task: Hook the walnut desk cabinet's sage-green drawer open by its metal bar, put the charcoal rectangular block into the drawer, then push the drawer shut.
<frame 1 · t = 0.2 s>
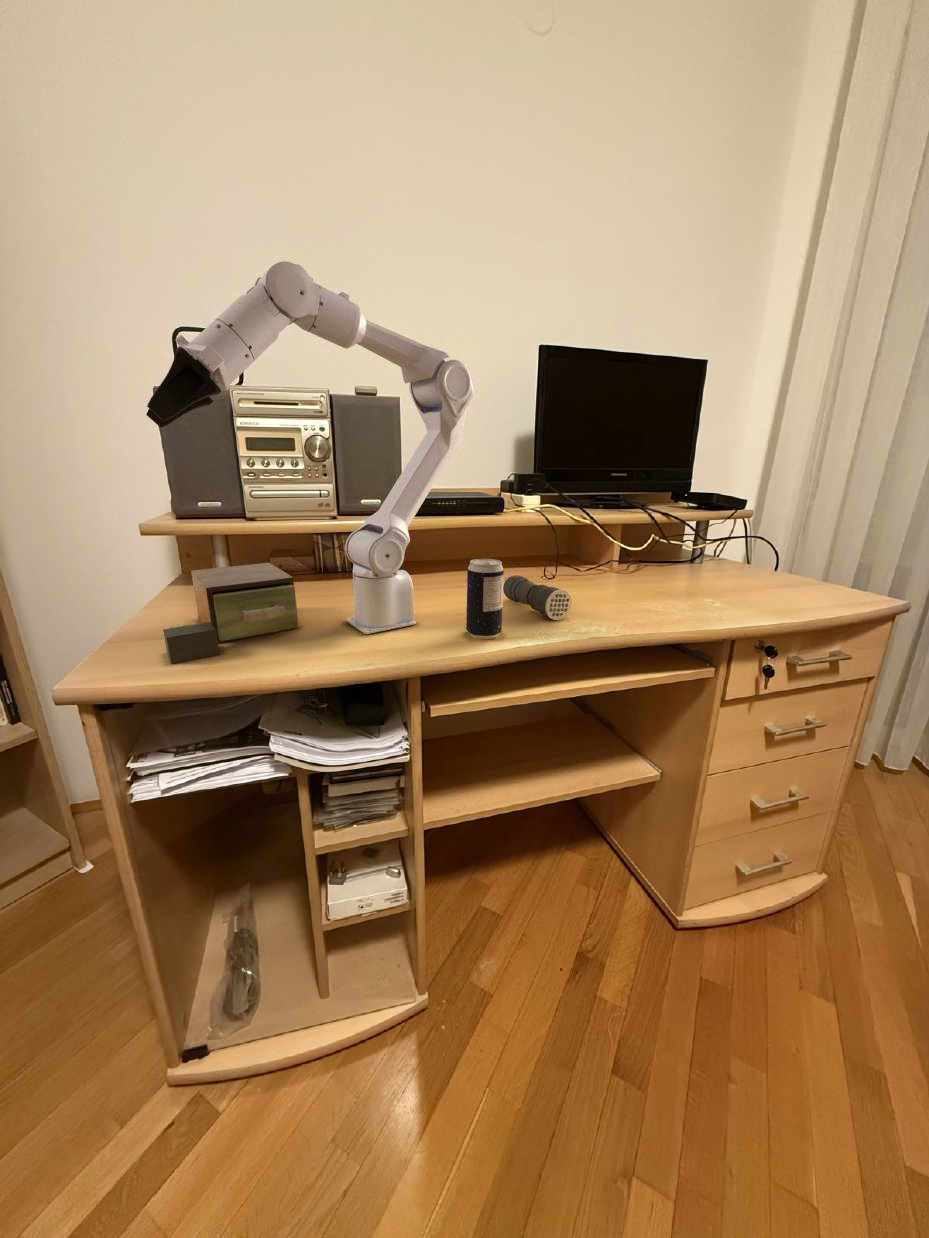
hand: (154, 417, 58), 31 cm above the table, tool tilted 45°, fingers open, 7 cm apart
beverage can: (483, 635, 79), on the table
flashlight: (534, 610, 93), on the table
charcoal rectangular block: (193, 654, 69), on the table
drawer: (252, 606, 77), point 4 cm above the table, slide at 1.0 cm
cabinet: (247, 623, 82), on the table
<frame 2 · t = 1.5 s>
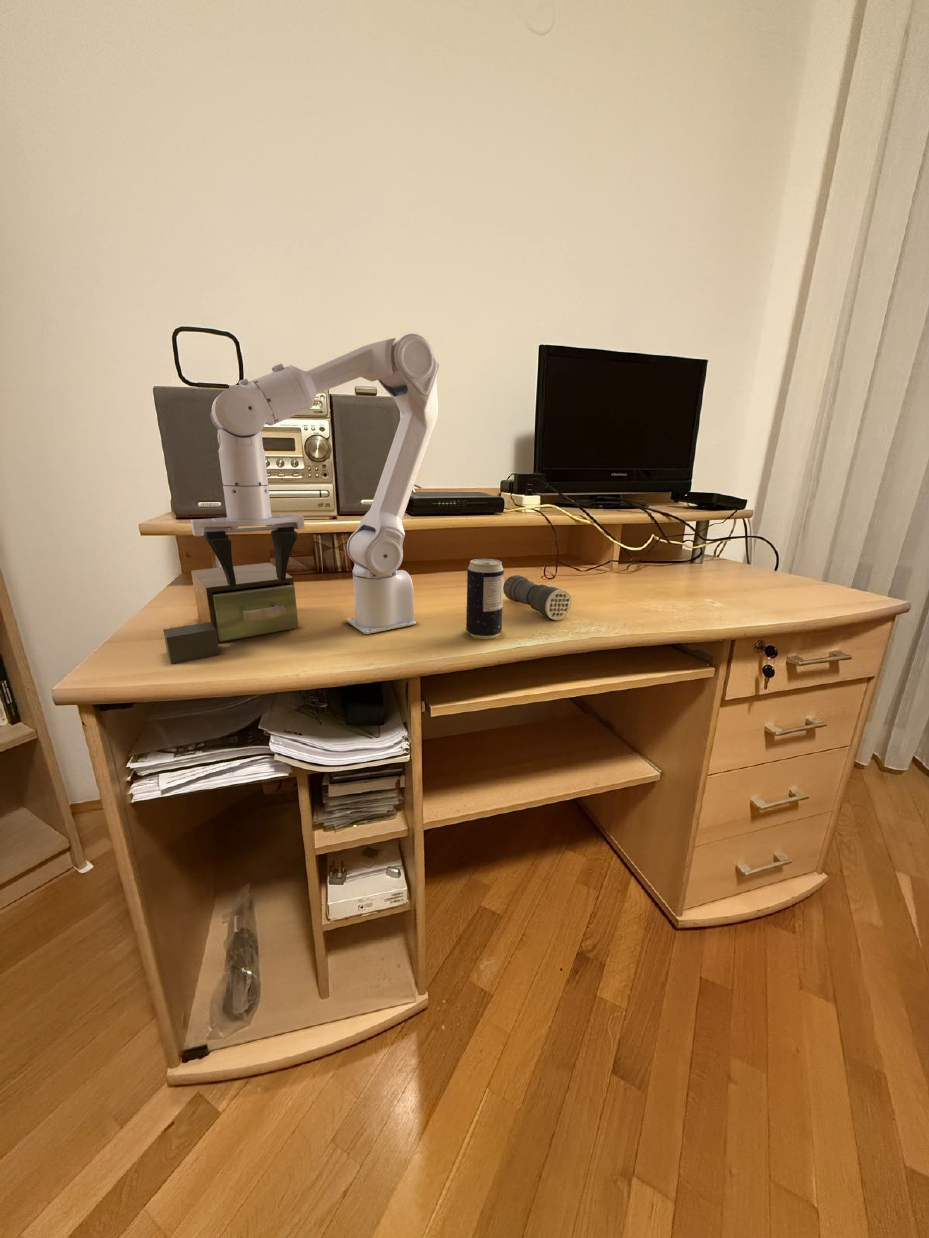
hand: (257, 582, 71), 9 cm above the table, tool pointing down, fingers open, 6 cm apart
nothing on the table moved.
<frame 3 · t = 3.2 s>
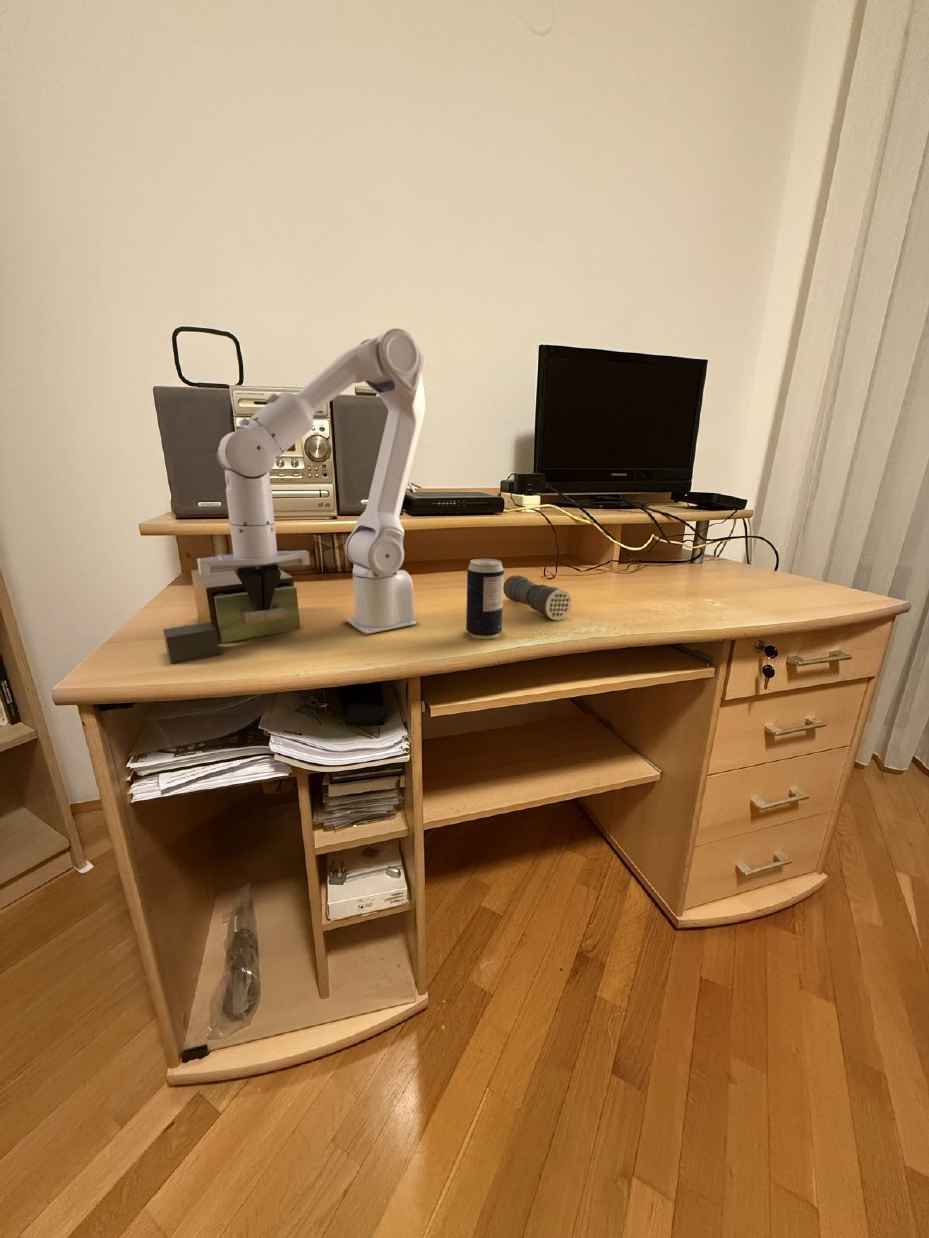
hand: (262, 617, 72), 4 cm above the table, tool pointing down, fingers closed, pressing on drawer
drawer: (253, 608, 76), point 4 cm above the table, slide at 1.9 cm, touching gripper
everything else where it was.
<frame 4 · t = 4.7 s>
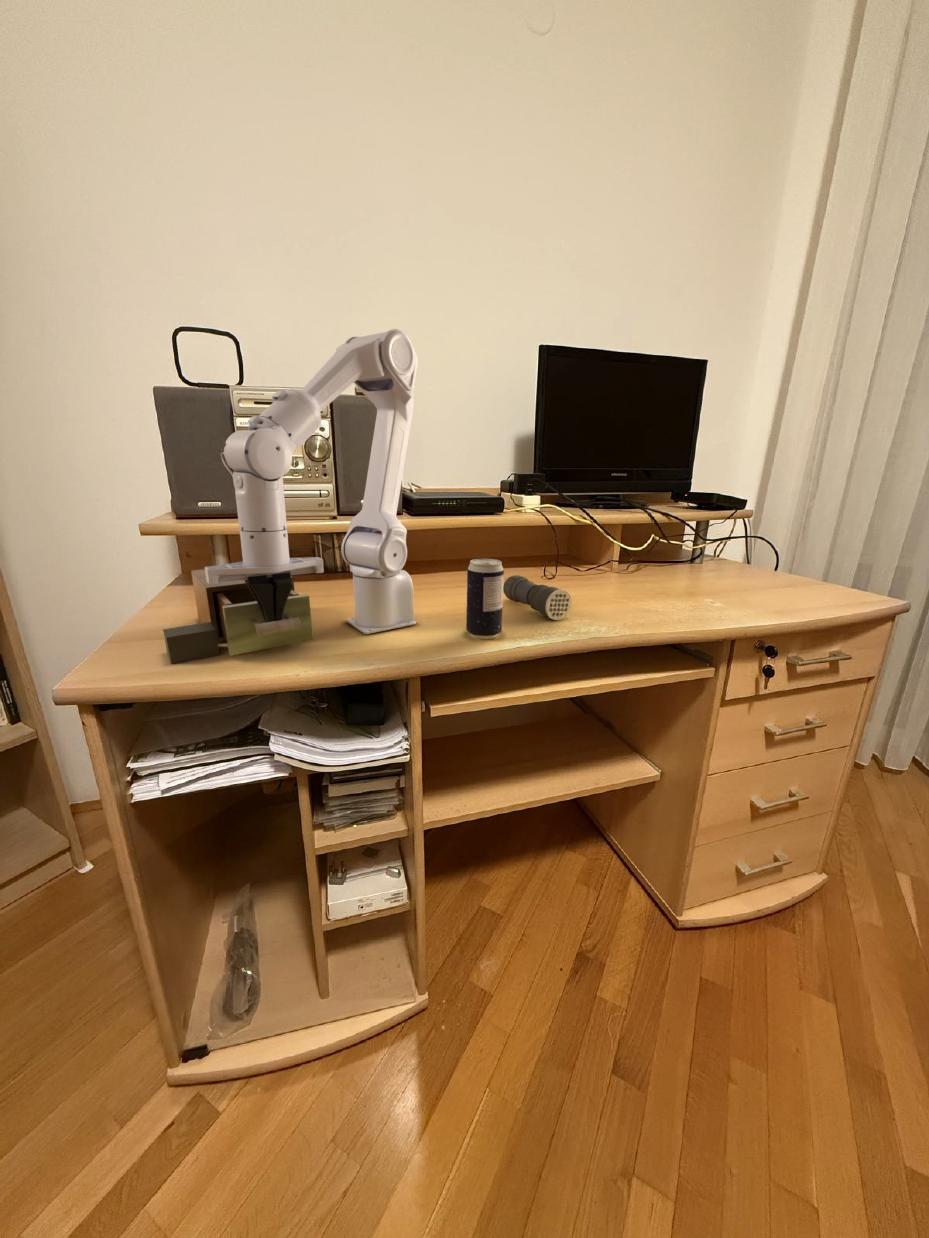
hand: (273, 628, 67), 4 cm above the table, tool pointing down, fingers closed, pressing on drawer
drawer: (263, 617, 72), point 4 cm above the table, slide at 7.6 cm, touching gripper
everything else where it was.
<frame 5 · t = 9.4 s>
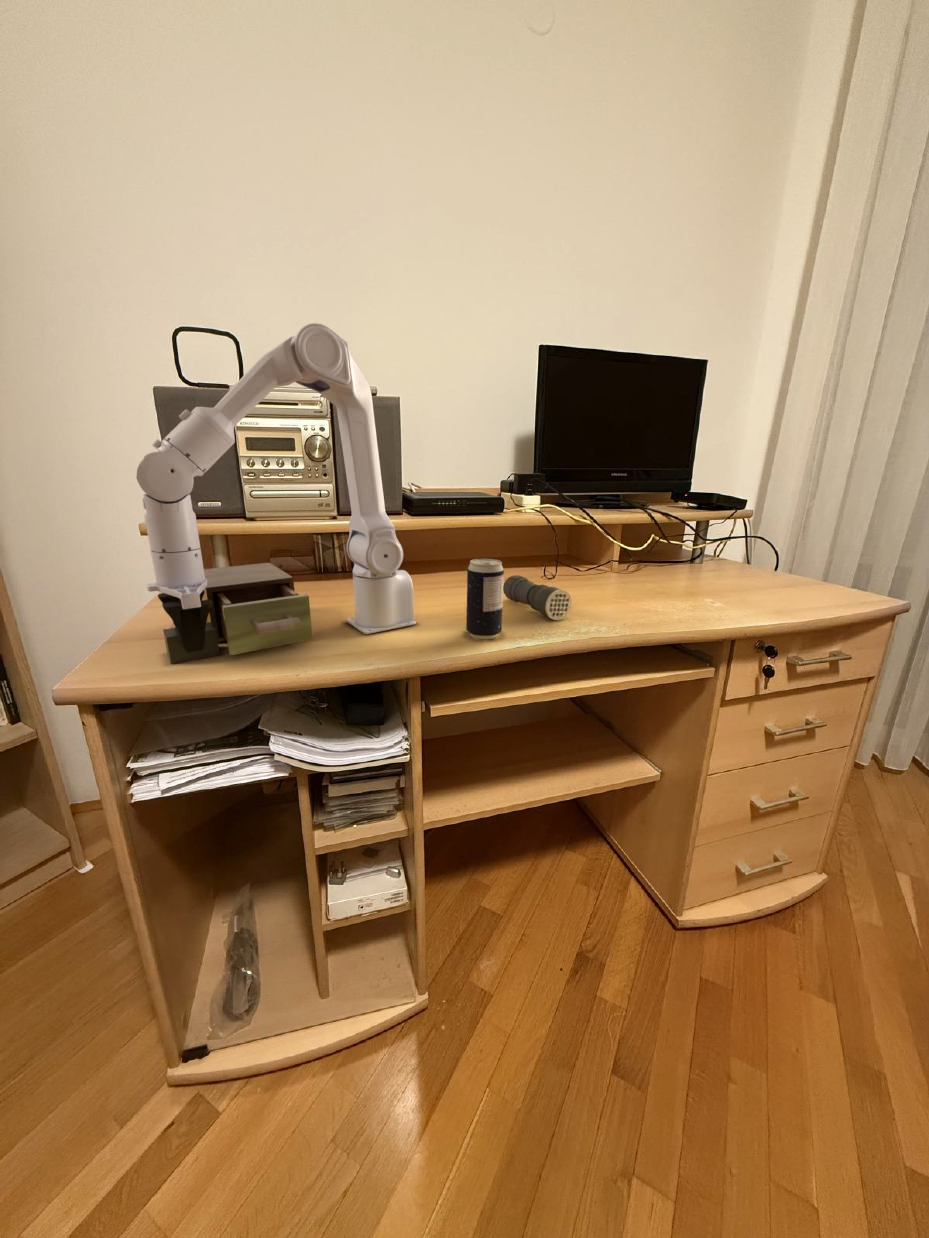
hand: (192, 645, 69), 1 cm above the table, tool pointing down, fingers closed on charcoal rectangular block, 4 cm apart
charcoal rectangular block: (193, 654, 69), on the table, touching gripper
drawer: (263, 617, 72), point 4 cm above the table, slide at 7.5 cm
everything else where it was.
when the fingers open (9 cm above the table, at t = 12.3 s): charcoal rectangular block drops 4 cm and tips over, resting on drawer.
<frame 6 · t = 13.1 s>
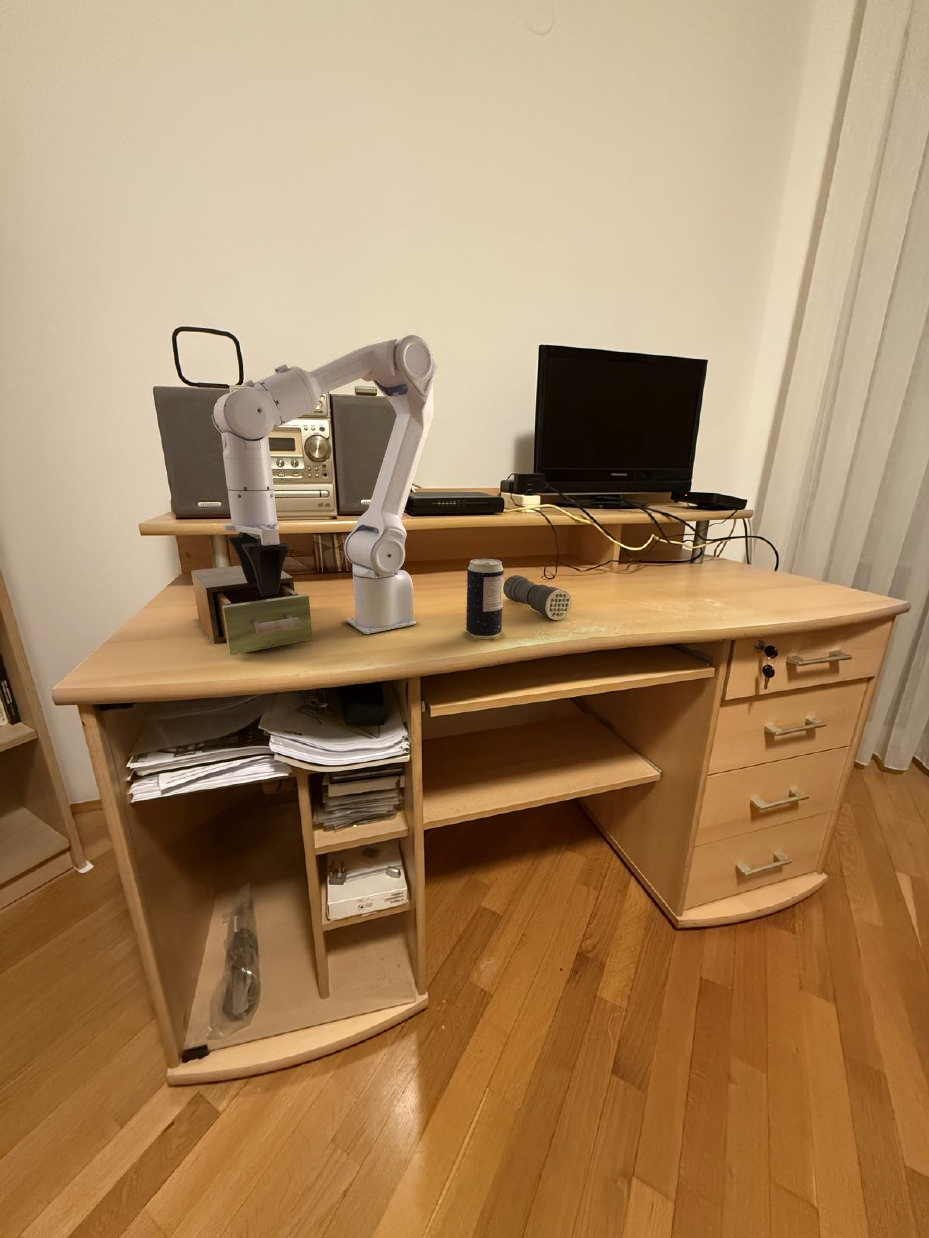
hand: (262, 588, 69), 9 cm above the table, tool pointing down, fingers open, 7 cm apart
charcoal rectangular block: (267, 623, 70), point 4 cm above the table, tilted 90°, touching drawer
drawer: (263, 617, 72), point 4 cm above the table, slide at 7.5 cm, touching charcoal rectangular block
everything else where it was.
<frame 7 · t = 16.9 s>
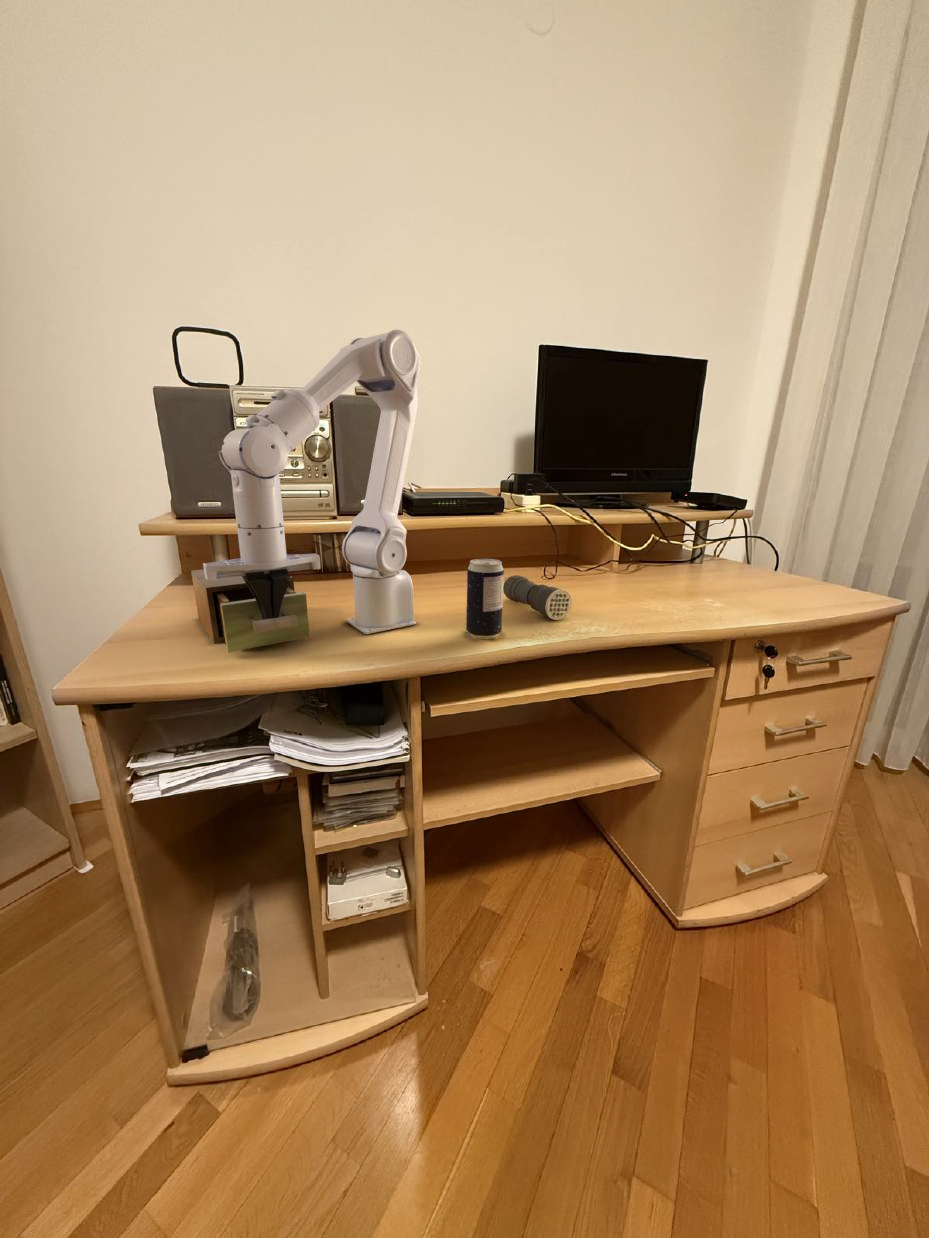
hand: (271, 624, 68), 5 cm above the table, tool pointing down, fingers closed, pressing on drawer
charcoal rectangular block: (265, 621, 71), point 4 cm above the table, tilted 90°, touching drawer
drawer: (261, 615, 73), point 4 cm above the table, slide at 6.2 cm, touching gripper, charcoal rectangular block
everything else where it was.
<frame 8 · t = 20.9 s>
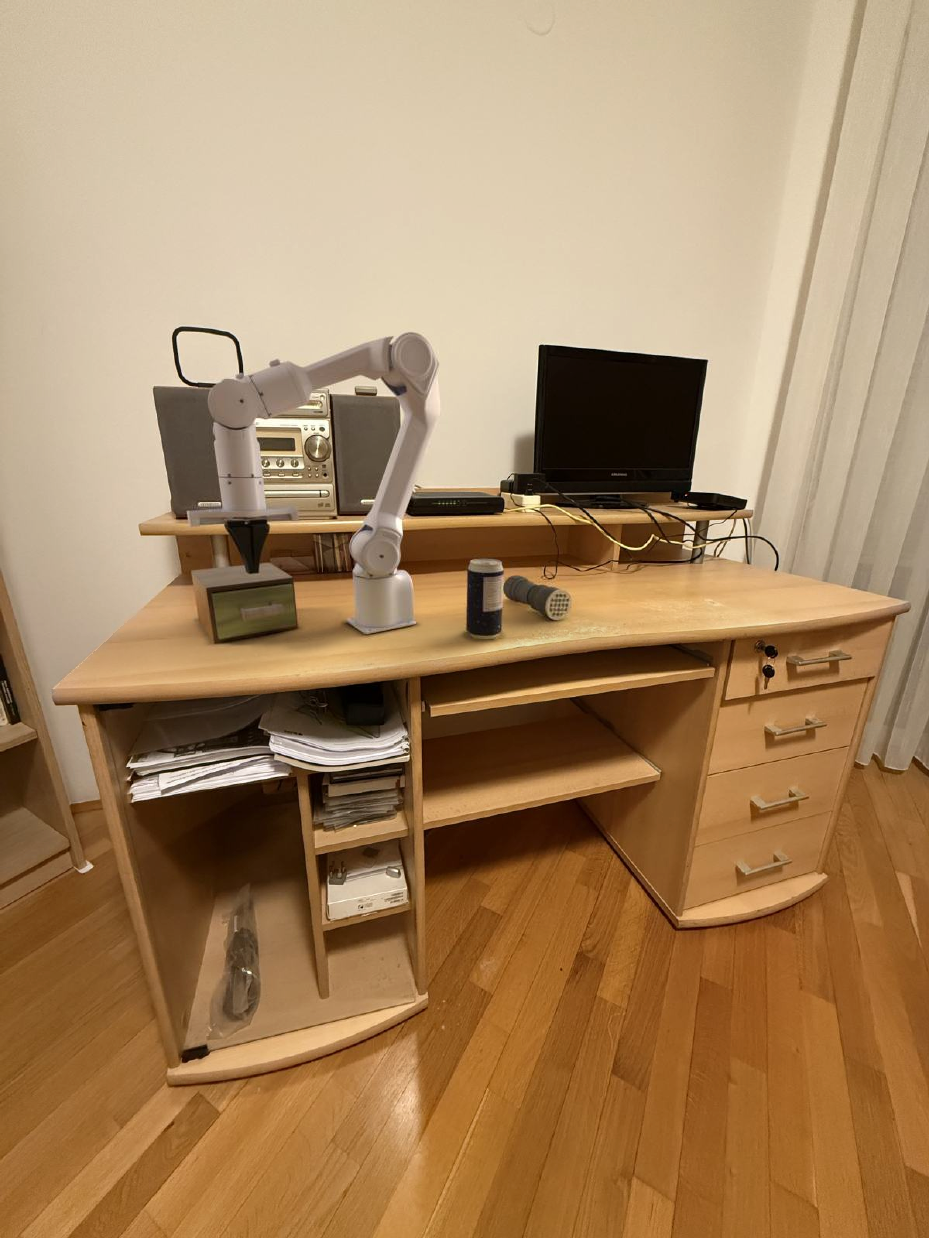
hand: (252, 572, 73), 10 cm above the table, tool pointing down, fingers closed
charcoal rectangular block: (254, 610, 76), point 4 cm above the table, tilted 90°, touching drawer
drawer: (250, 605, 78), point 4 cm above the table, slide at 0.0 cm, touching charcoal rectangular block
everything else where it was.
at the end: drawer pulled out 7.7 cm at the most during the clip, back to where it started at the end; charcoal rectangular block inside the target area in the cabinet (6.4 cm from its centre), point 4.0 cm above the cabinet's base; drawer slide at 0.0 cm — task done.
